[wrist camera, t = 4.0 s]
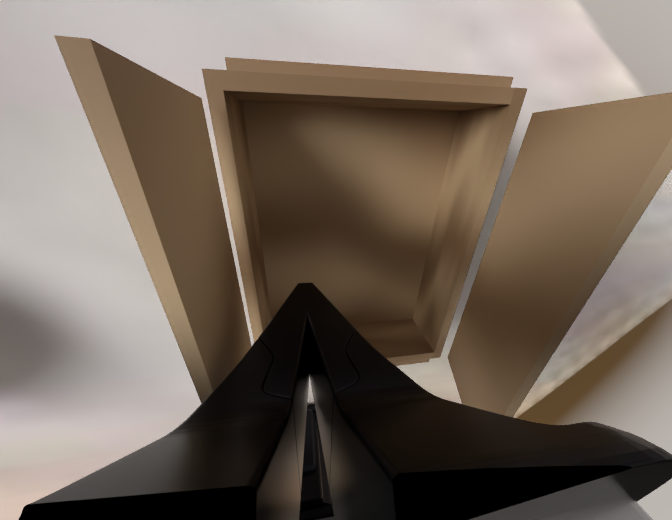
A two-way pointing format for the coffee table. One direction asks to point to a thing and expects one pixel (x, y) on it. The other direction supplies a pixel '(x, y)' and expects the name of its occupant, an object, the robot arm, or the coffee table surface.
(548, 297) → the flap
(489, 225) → the coffee table surface
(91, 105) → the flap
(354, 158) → the carton
